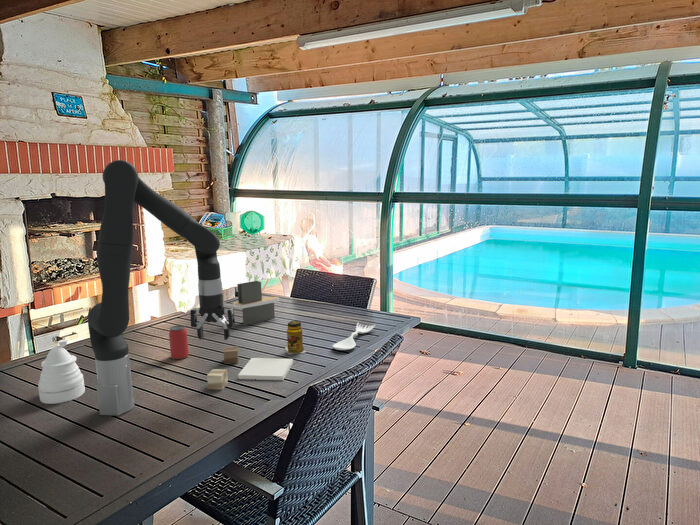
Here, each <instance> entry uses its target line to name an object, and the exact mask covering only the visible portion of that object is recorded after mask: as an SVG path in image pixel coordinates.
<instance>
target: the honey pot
mask: <svg viewBox="0 0 700 525" xmlns="http://www.w3.org/2000/svg"><path fill="white" fill-rule="evenodd" d="M57 344H58V345H56V346H54V347H51V349H50V350H49V352H48V354H47V355H46V358H45V360H43V361H41V364H40V366H41V367H42V369H41V372H40V376H39V377H40V378H39V381H38V383H37V384H38V385H37V386H38V397H39V401H40V402H41V403H43V404H48V405H49V404H50V405H52V404H61V403H65V402H69V401H73V400H75V399H77V398H79V397H81V396H82V395H83V394H85V392H86V389H85V379H84V374H83V373H82V372H81V370H80V366H78V364H77V363H76V362H77V356H75V355H73V354H70V353H69V352H68V350H66V349H65V348H64V347H66V346H67V345H68V339H61V340H58V343H57Z"/></svg>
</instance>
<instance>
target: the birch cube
mask: <svg viewBox="0 0 700 525" xmlns="http://www.w3.org/2000/svg"><path fill="white" fill-rule="evenodd" d="M206 378H207V381H206V382H207V390H221V391H222V390H224V388H225V387H226V386H228V383H229V382H228V381H229V380H228V370H227V369H217V368H216V369H214V368H213V369H211V371H209V372H208V374H207V375H206Z"/></svg>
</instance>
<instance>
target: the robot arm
mask: <svg viewBox="0 0 700 525" xmlns="http://www.w3.org/2000/svg"><path fill="white" fill-rule="evenodd" d="M102 180H103V181H102V182H103V184H104V210H103V214H102V219H101V223H100V226H99V227H100V228H99V231H98V232H99V233H98V238H97V249H96V250H97V251H96V252H97V253H96V259H97V260H96V261H97V262H96V263H97V268H98V272H99V277H100V283H101V287H102V289H101V301H100V302H98V303H97V304H95V305H94V306H92V308H91V309H90V311H89V312H88V315H87V316H88V317H87V325H88V326H87V327H88V333H89V339H90V345H91V349H92V350H93V354H94V359H95V360H94V361H95V369H96V377H97V384H96V392H97V393H96V394H97V401H98V408H99V409H98V410H99V415H100V416H116V417H118V416H120V415H122V414H125V413H128V412H129V411H131V410H132V409H134V407H135V398H134V391H133V382H132V381H133V380H132V372H131V370H132V369H131V360H130V352H129V345H128V343H127V341H126V340H125V337H124V334H123V333H124V332H126V330H127V328H128V326H129V322H130V303H129V302H130V300H129V298H130V297H129V296H130V295H129V291H130V290H129V288H130V277H131V265H132V257H133V256H132V255H133V245H134V220H133V219H134V216H133V211H134V203H135V204H137V205H139V206H140V207H142V208H143V209H144V210H146V212H148V213H150V214H151V215H152V216H153V217H154V218H155V219H156V220H158V222H161V223H162V225H163V224H164V226H166V227H167V228H169V229H170V230H171V231H172V232H174V233H175V234H177V236H180V237H182V238H183V239H185V240H186V241H187V242H189V243H190V244H191V245H192V246H193V247H194V252H195V258H196V263H197V277H198V278H197V280H198V286H197V287H198V302H199V308H197V307H193V308H192V309H191V310H190V327H191V328H195V329H196V332H197V338H198V339H199V340H203V339H204V337H205V334H204V324H205V323H206V322H207V323H211V322H212V323H218V324H219V325H221V326H222V328H223V340H224V341H227V340H228V339H229V338H230V336H231V330H230V329H231V328H233V327H234V326H235V325H236V321H235V320H236V319H235V312H234V308H233V307H231V308H225V307H224V295H223V294H224V293H223V291H224V290H223V284H222V283H223V282H222V277H221V267H220V261H219V260H218V254H217V252H218V250H219V248H220V247H221V242H220V239H219V237H218V235H217V234H215V233H214V231H212V230H210V229H209V228H207V227H205V226H204V225H203V224H202V223H199V222H198V221H197V220H196V219H195V218H194V217H193V216H191V214H189V213H187V211H185V210H184V209H182V208H181V207H179V206H178V205H177V204H175V203H174V202H173V201H171V200H169V199H168V198H166V197H164V196H162V195H161V194H159V193H158V192H156V191H155V190H154V189H153V188H151V187H150V186H149V185H148V184H147V183H145V181H143V180H142V179H141V178H140V176H139V173H138V170H137V169H136V167H135V165H133V164H132V163H130V162H129V161H127V160H123V159H117V160H114V161H111V162H109V163H108V164H107V165H106V166H105V168H104V169H103V172H102ZM198 315H200V317H201V319H200V320H199V322H198ZM224 315H226V316H227V318H226V317H225V316H224ZM227 319H228V321H227Z"/></svg>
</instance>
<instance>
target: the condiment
mask: <svg viewBox="0 0 700 525" xmlns="http://www.w3.org/2000/svg"><path fill="white" fill-rule="evenodd" d="M286 336H287V337H286V339H287V342H286V344H287V346H286V347H284V349H285V351H286V353H287V356H288V355H297V354H304V353H307V351H306V349H305V348H304V347H305V346H304V344H303V328H302V322H301V321H300V320H292V321H288V323H287V329H286Z"/></svg>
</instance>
